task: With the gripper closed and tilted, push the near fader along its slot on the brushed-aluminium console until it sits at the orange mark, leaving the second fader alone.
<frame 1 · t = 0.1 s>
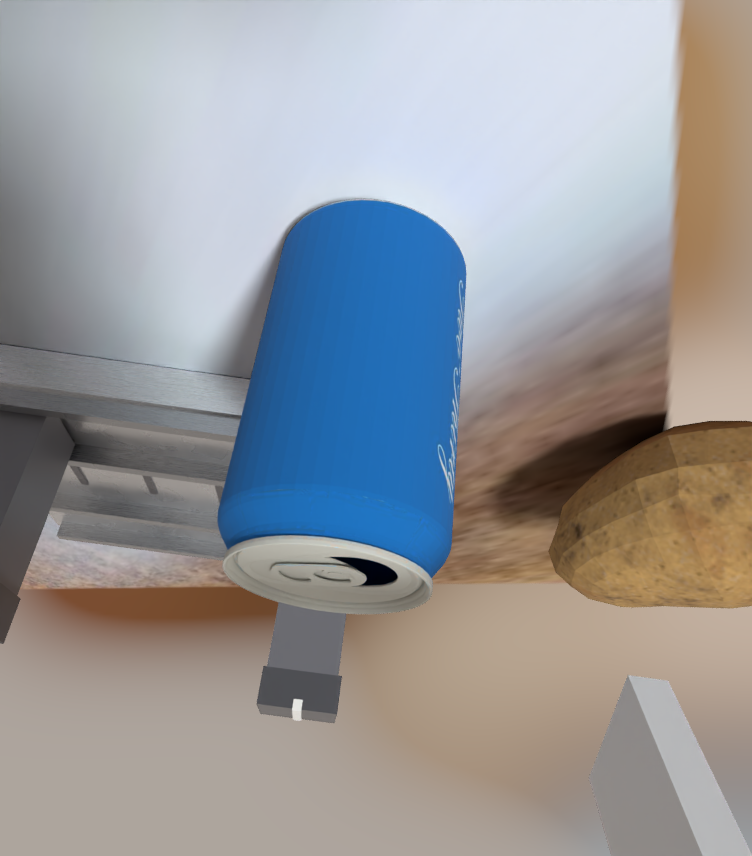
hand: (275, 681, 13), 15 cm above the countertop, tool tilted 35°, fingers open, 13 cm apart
beverage can: (376, 252, 24), on the countertop
console: (211, 459, 40), on the countertop
potato: (691, 437, 33), on the countertop
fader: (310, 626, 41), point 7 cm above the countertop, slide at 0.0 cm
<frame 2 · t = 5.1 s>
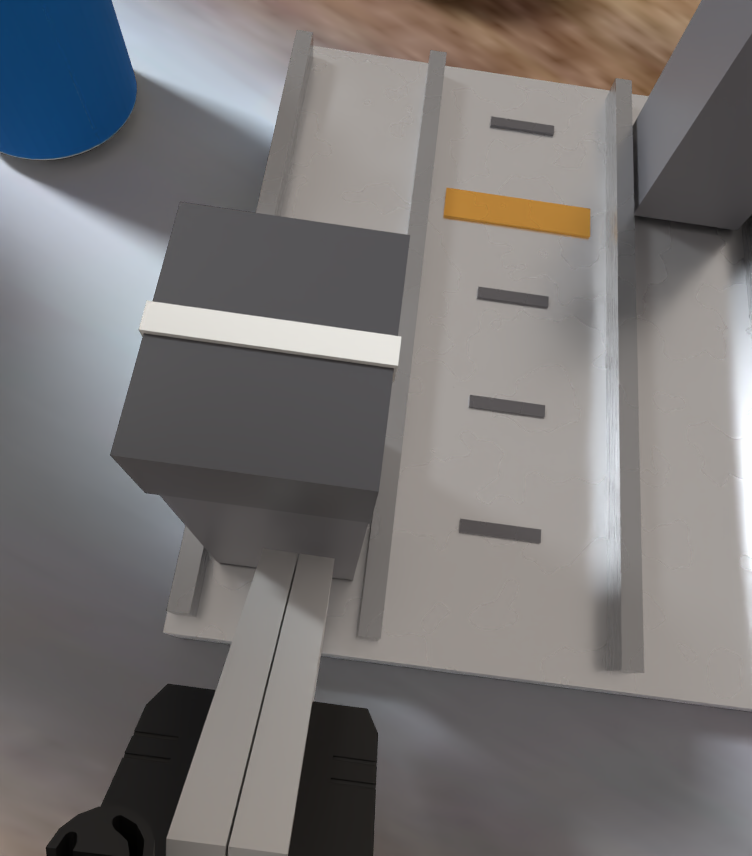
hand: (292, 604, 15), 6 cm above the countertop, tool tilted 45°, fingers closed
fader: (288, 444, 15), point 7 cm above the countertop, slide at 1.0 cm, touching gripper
beverage can: (59, 113, 27), on the countertop
console: (496, 351, 24), on the countertop
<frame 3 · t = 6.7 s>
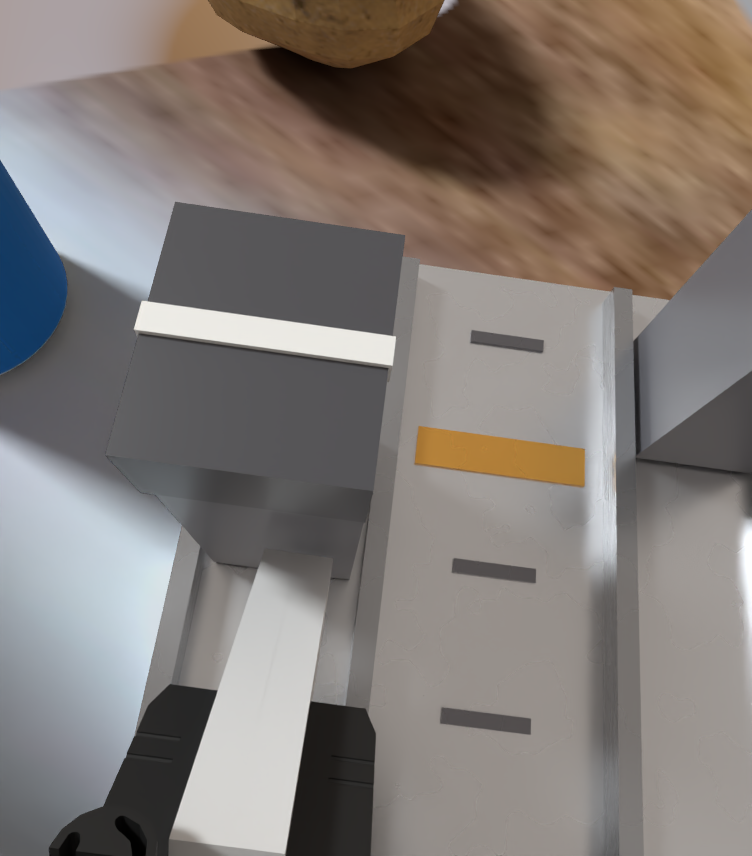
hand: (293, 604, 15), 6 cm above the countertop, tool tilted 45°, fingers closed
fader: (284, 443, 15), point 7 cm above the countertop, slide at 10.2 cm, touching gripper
console: (477, 613, 21), on the countertop
potato: (308, 25, 30), on the countertop
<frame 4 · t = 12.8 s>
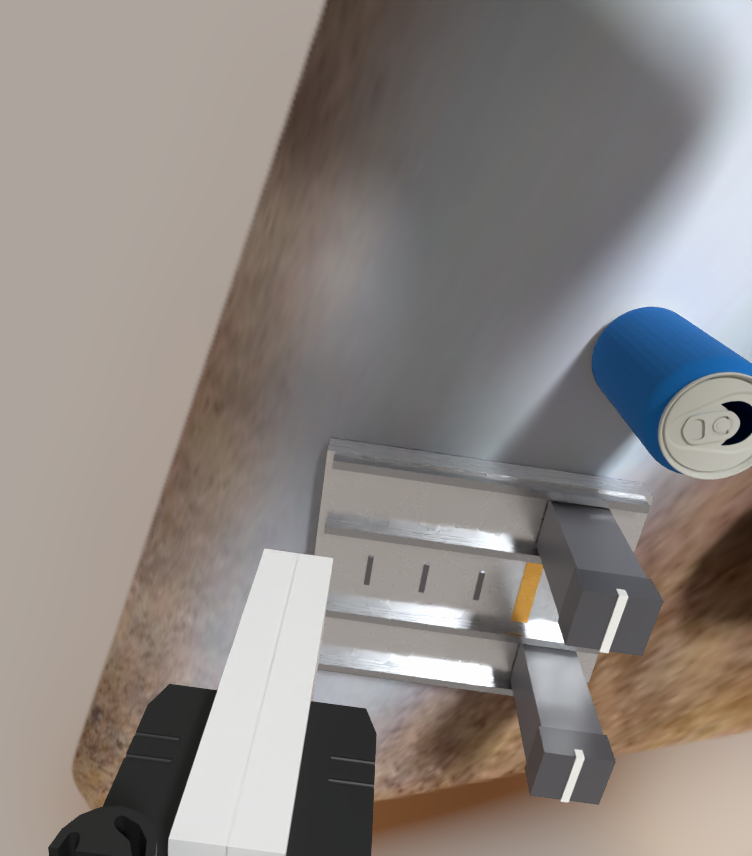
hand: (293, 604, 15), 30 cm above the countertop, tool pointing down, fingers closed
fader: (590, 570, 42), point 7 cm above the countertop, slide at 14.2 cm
beverage can: (638, 352, 44), on the countertop
console: (463, 567, 51), on the countertop
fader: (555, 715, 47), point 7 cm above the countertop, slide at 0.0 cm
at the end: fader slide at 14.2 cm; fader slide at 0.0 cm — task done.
